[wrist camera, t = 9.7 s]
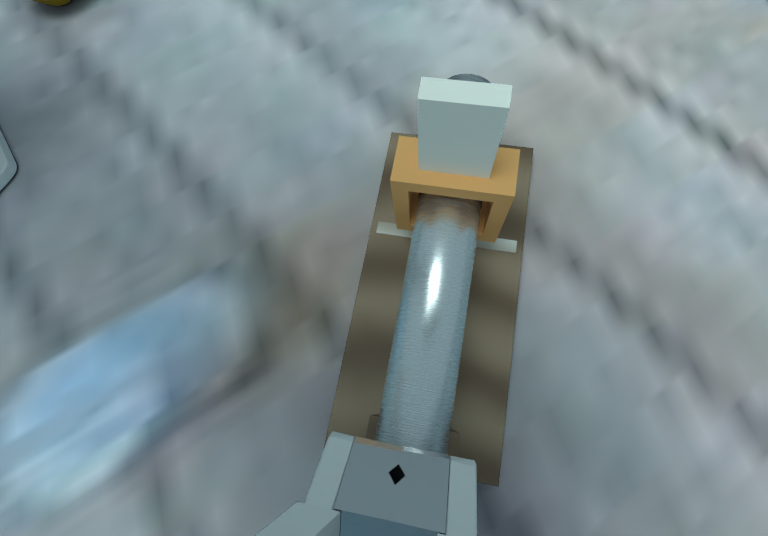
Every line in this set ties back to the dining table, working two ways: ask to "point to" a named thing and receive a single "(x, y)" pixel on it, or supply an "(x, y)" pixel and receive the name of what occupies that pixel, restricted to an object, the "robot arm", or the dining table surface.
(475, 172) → the orange pipe clamp
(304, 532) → the robot arm
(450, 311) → the pipe
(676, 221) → the dining table surface
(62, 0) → the apple
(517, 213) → the pipe stand
